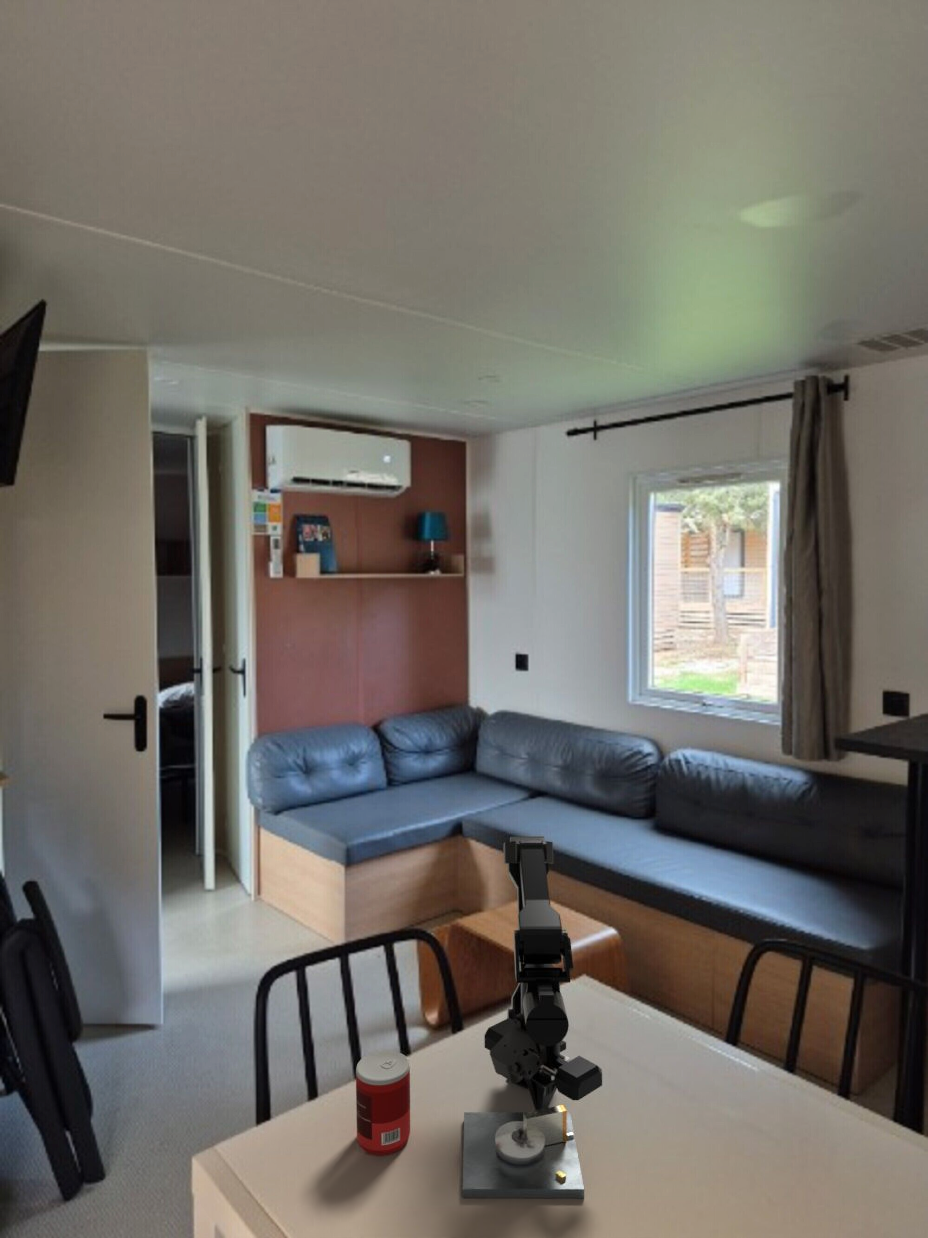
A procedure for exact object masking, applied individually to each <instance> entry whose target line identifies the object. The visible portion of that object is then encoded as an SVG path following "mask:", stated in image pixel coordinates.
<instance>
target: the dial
mask: <svg viewBox="0 0 928 1238" xmlns="http://www.w3.org/2000/svg"><path fill="white" fill-rule="evenodd" d="M565 1141H567V1109H566V1108H565V1106H564V1105H563V1104H559V1105H556V1106H555V1105H554V1106H552V1107H548V1108H545V1109H540V1110H531V1111H527V1112H526V1111H525V1113H523V1121H514V1122H509V1123H506V1124H504V1125H502V1126H501V1127H500V1128H499V1129H498V1130H497V1131H496V1134H495V1149H496V1152H497V1154H498V1155H499V1156H500V1157H501V1158H502V1159H503V1160H505V1161H507V1162H509V1163H512V1164H518V1165H525V1164H530V1163H533V1162H536V1161H537V1160H539V1159H540V1158H541V1157H542V1156H543V1154H544V1152H545V1146H546V1145H550V1144H555V1143H559V1142H565Z"/></svg>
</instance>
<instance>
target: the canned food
mask: <svg viewBox="0 0 928 1238" xmlns="http://www.w3.org/2000/svg"><path fill="white" fill-rule="evenodd" d="M410 1066H411V1065H410V1060H409V1059H408V1057H407V1056H406V1055H405V1054H403V1053H400V1052H398V1051H395V1050H381V1051H375V1052H371V1053H370V1054H367V1055H365V1056H363V1057H362V1058H361V1059H360V1060H359V1061H358V1063H357V1065H356V1069H355V1096H356V1097H355V1098H356V1099H355V1100H356V1101H355V1102H356V1104H355V1105H356V1106H355V1107H356V1140H357V1142H358V1144H359V1147H360V1148H361V1150H362V1151H364V1152H366V1153H367V1154H370V1155H373V1156H385V1155H387V1156H388V1155H391V1154H393V1153H396V1152H398V1151H399V1150H401V1149H402V1148H404V1146H405V1145H407V1143H408V1140H409V1137H410V1134H411V1072H410V1070H411V1067H410Z"/></svg>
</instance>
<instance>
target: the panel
mask: <svg viewBox="0 0 928 1238" xmlns="http://www.w3.org/2000/svg"><path fill="white" fill-rule="evenodd" d="M525 1112H526V1111H525ZM525 1112H523V1111H522V1112H520V1111H518V1112H517V1111H516V1112H513V1111H512V1112H510V1111H509V1112H507V1111H506V1112H502V1111H501V1112H496V1111H495V1112H494V1111H493V1112H490V1111H489V1112H488V1111H487V1112H485V1111H484V1112H477V1111H476V1112H473V1111H472V1112H469V1111H468V1112H464V1111H463V1150H462V1151H463V1153H462V1154H463V1155H462V1157H463V1160H462V1198H463V1199H585V1185H584V1181H583V1175H582V1171H581V1170H582V1169H581V1166H580V1165H581V1164H580V1160H579V1155H578V1148H577V1144H576V1139H575V1138H576V1137H575V1131H574V1126H573V1122H572V1116H571V1112H567V1141H565V1142H559V1143H555V1144H550V1145H546V1146H545V1152H544V1154H543V1156H542V1157H541V1158H540V1159H539V1160H537V1161H536V1162H533V1163H530V1164H525V1165H518V1164H512V1163H509V1162H507V1161H505V1160H503V1159H502V1158H501V1157H500V1156H499V1155H498V1154H497V1152H496V1149H495V1134H496V1131H497V1130H498V1129H499V1128H500V1127H501V1126H502V1125H504V1124H506V1123H509V1122H514V1121H523V1113H525Z"/></svg>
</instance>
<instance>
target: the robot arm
mask: <svg viewBox="0 0 928 1238" xmlns="http://www.w3.org/2000/svg"><path fill="white" fill-rule="evenodd" d="M553 844H554V843H553V841H547V840H545V836H510V837H509V841H505V842H503V864H505V865H507V875H508V877H509V879H510V880H511V882H512V884H513V885H514V887H515V888H516V891H517V892H516V893H517V896H516V897H517V929H514V930H513V954H514V959H513V960H514V974H515V982H516V984H518V985H517V987H516V988H515V990H514V992H513V994H512V995H511V999H510V1001H511V1004H510V1005H511V1008H508V1009H507V1014H506V1015H507V1016H506V1018H505V1019H503V1020H502V1021H499V1022H497V1023H495V1024H494V1025H492V1026H490V1027H488V1028H487V1029H486V1030H485V1033H484V1048H485V1049H486V1050H489V1057H490V1059H491V1062H492V1066H493V1069H494V1071H495V1073H496V1074H497V1075H500V1076H502V1077H503V1078H504V1079H506V1080H507V1081H509V1082H510V1083H513V1084H518V1085H519V1086H522V1087H524V1088H527V1089H528V1091H529V1094H530V1098H531V1099H532V1100H531V1101H532V1103H533V1105H534V1106H533V1107H534V1109H535V1110H540V1109H545V1108H549V1106H550V1104H551V1102H552V1099H553V1097H555V1096H554V1095H555V1093H556V1091H558V1093H560V1094H562V1095H563V1096H565V1097H566V1098H569V1099H570V1100H571V1101H580V1100H581V1099H583V1098H584V1097H586V1096H588V1095H589V1094H591V1093H592V1092H594V1091H596V1090H597V1089H599V1088H600V1087H603V1069H602V1068H601V1067H600V1066H599V1065H597V1064H596V1063H594V1062H592V1061H590V1060H588V1059H586V1058H584V1057H583V1056H581V1055H577V1056H576V1057H574V1058H573V1059H571V1060H570V1057H569V1056H567V1055H565V1054H563V1053H562V1052H564V1051H566V1050H567V1042H566V1041H565V1040H564V1039H565V1037H566V1036H567V1035H568V1031H569V1027H570V1024H569V1018H568V1014H567V1011H566V1006H565V1002H564V998H563V995H562V993H561V983H566V984H568V983H571V973H573V972H574V962H573V952H572V942H571V938H570V937H569V935H568V934H569V933H568V932H567V930H566V929H563V927H562V921H561V915H560V913H559V912H558V911H557V910H556V909H555V908H553V907H552V906H551V899H550V893H549V890H550V889H549V884H548V874H549V872H550V864H554V845H553ZM561 962H562V963H563V967H555V966H554V965H560V964H561ZM535 1110H534V1111H535Z"/></svg>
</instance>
